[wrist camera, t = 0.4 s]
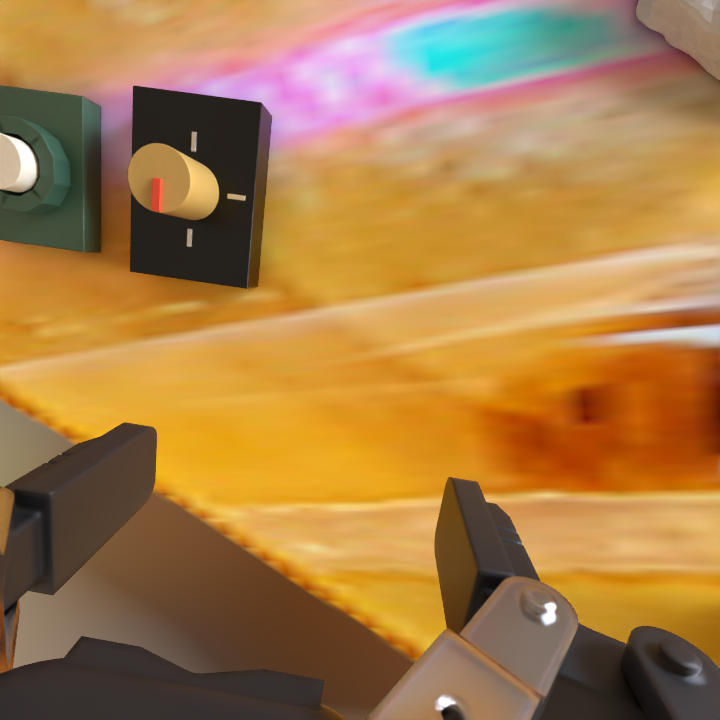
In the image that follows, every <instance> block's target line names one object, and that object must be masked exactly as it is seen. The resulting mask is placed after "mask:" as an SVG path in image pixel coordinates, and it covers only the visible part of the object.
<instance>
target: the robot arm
mask: <svg viewBox="0 0 720 720" xmlns="http://www.w3.org/2000/svg"><path fill="white" fill-rule="evenodd" d="M156 448H157V433H156V430H155V428H153V427H150V426H144V425H138V424H132V423H122V424H121V425H119V426H117V427H116V428H114V429H112V430H111V431H109V432H107V433H106V434H104V435H102V436H101V437H97V438H94V439H91V440H88V441H85V442H82V443H79V444H77V445H75V446H73V447H72V448H70V449H68V450H67V451H65V452H63V453H62V455H58V456H56V457H55V458H53V459H51V460H50V461H49V462H48V463H44V464H43V465H41V466H39V467H38V468H36V469H34V470H32V471H31V472H29V473H27V474H26V475H24V476H22V477H20V478H19V479H17V480H15V481H14V482H12V483H10V484H9V485H7V486H5V487H0V720H347V719H346V718H344V717H343V716H341V715H340V714H338V713H337V712H336V711H334V710H333V709H331V708H329V707H327V706H325V705H323V704H321V697H322V691H323V684H324V680H320V679H314V678H309V677H304V676H298V675H292V674H287V673H282V672H276V671H270V670H265V669H263V670H262V669H261V670H246V671H233V672H232V671H231V672H218V673H202V674H201V673H198V674H197V673H192V672H190V671H187V670H185V669H183V668H181V667H179V666H177V665H175V664H173V663H172V662H169V661H167V660H166V659H163V658H161V657H160V656H157V655H156V654H154V653H152V652H150V651H148V650H145V649H144V648H142V647H139V646H133V645H127V644H122V643H116V642H111V641H106V640H100V639H95V638H89V637H83V636H81V638H80V639H79V640H78V641H77V643H76V644H75V645H74V646H73V647H72V649H71V650H70V651H69V652H68V654H67V655H66V656H65V657H64V658H60V659H52V660H46V661H40V662H36V663H32V664H28V665H24V666H20V667H18V668H15V669H13V662H14V654H15V646H16V637H17V629H18V621H19V612H20V610H19V598H20V597H21V596H22V595H24V594H25V593H26V592H27V591H32V592H37V593H43V594H49V595H54V594H55V593H56V592H57V591H58V590H59V589H60V588H61V587H62V586H63V585H64V584H65V583H66V582H67V581H68V580H69V579H70V578H71V577H72V576H73V575H74V574H75V573H76V572H77V571H78V570H79V569H80V568H81V567H82V566H83V565H84V564H85V563H86V562H87V561H88V560H89V559H90V558H91V557H92V556H93V555H94V554H95V553H96V552H97V551H98V550H99V549H100V548H101V547H102V546H103V545H104V544H105V543H106V542H107V541H108V540H109V539H110V538H111V537H112V536H113V535H114V534H115V533H116V532H117V531H118V530H119V529H120V528H121V527H122V526H123V525H124V524H125V523H126V522H127V521H128V520H129V519H130V518H131V517H132V516H133V515H134V514H135V513H136V512H137V511H138V510H139V509H140V508H141V507H142V506H143V505H144V504H145V503H146V502H147V501H148V499H149V497H150V496H151V493H152V491H153V488H154V484H155V473H156ZM435 558H436V564H437V570H438V576H439V582H440V588H441V594H442V601H443V607H444V613H445V619H446V625H447V629H446V630H444V631H443V632H442V633H441V634H440V635H439V637H438V638H437V639H436V640H435V641H434V642H433V643H432V644H431V646H430V647H429V648H428V649H427V650H426V651H425V652H424V654H423V655H422V656H421V657H420V658H419V659H418V660H417V662H416V663H415V664H414V665H413V666H412V667H411V668H410V670H409V671H408V672H407V673H406V674H405V675H404V676H403V678H402V679H401V680H400V681H399V682H398V683H397V684H396V685H395V687H394V688H393V689H392V690H391V691H390V692H389V694H388V695H387V696H386V697H385V698H384V699H383V700H382V701H381V703H380V704H379V705H378V706H377V707H376V708H375V710H374V711H373V712H372V713H371V714H370V715H369V716H368V717H367V719H366V720H720V669H719V667H718V666H717V665H716V664H715V663H714V662H713V661H712V660H711V659H710V658H709V657H708V656H707V655H705V654H704V653H703V652H702V651H701V650H699V649H698V648H697V647H695V646H694V645H692V644H691V643H689V642H688V641H686V640H684V639H683V638H681V637H679V636H677V635H675V634H673V633H671V632H668V631H666V630H663V629H660V628H656V627H651V626H640V627H637V628H635V629H633V630H632V631H631V634H630V636H629V639H628V642H627V644H625V643H623V642H621V641H618V640H616V639H613V638H611V637H608V636H606V635H604V634H601V633H599V632H596V631H594V630H592V629H589V628H587V627H585V626H583V625H581V624H580V623H578V617H577V614H576V612H575V610H574V608H573V607H572V605H571V604H570V603H569V602H568V601H567V599H566V598H565V597H563V596H562V595H561V594H560V593H559V592H557V591H556V590H555V589H553V588H552V587H550V586H548V585H546V584H544V583H542V582H541V581H540V579H539V577H538V575H537V573H536V571H535V569H534V567H533V565H532V563H531V560H530V558H529V556H528V554H527V552H526V550H525V548H524V546H523V545H522V542H521V540H520V538H519V535H518V534H517V533H516V529H515V527H514V525H513V523H512V521H511V519H510V517H509V516H508V515H507V514H506V513H505V512H504V511H503V510H502V509H501V508H500V507H499V506H498V505H497V504H493V503H487V502H486V501H485V498H484V496H483V494H482V491H481V489H480V486H479V484H478V482H476V481H470V480H464V479H458V478H452V477H449V478H448V480H447V482H446V486H445V490H444V495H443V499H442V504H441V508H440V513H439V518H438V522H437V527H436V533H435Z"/></svg>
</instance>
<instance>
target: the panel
mask: <svg viewBox="0 0 720 720" xmlns="http://www.w3.org/2000/svg"><path fill="white" fill-rule="evenodd" d="M271 122H272V116H271V114H270V113H269V112H268V110H267V109H266V108H265V107H264V105H263V104H262V103H261V102H253V101H246V100H238V99H231V98H223V97H216V96H208V95H201V94H193V93H186V92H178V91H170V90H163V89H155V88H148V87H140V86H133V124H132V157H133V155H134V154H135V153H136V152H137V151H138V150H139V149H140V148H142V147H143V146H146V145H148V144H153V143H160V144H165V145H168V146H170V147H172V148H174V149H175V150H177V151H179V152H181V153H183V154H185V155H186V156H188V157H190V158H192V159H194V160H195V161H197V162H199V163H201V164H203V165H204V166H206V167H207V168H208V169H209V170H210V171H211V172H212V173H213V175H214V176H215V178H216V180H217V183H218V187H219V199H218V203H217V205H216V207H215V209H214V210H213V212H212V213H211V214H209V215H208V216H207V217H205V218H203V219H199V220H188V219H184V218H180V217H175V216H171V215H167V214H163V213H158V212H154V211H151V210H149V209H147V208H145V207H144V206H143V205H141V204H140V203H139V202H138V201H137V200H136V198H135V197H134V195H133V193H132V192H131V247H130V271H131V272H137V273H143V274H150V275H157V276H164V277H171V278H178V279H184V280H191V281H198V282H205V283H212V284H219V285H226V286H232V287H239V288H246V289H247V288H253V287H258V278H259V266H260V254H261V242H262V230H263V218H264V206H265V194H266V182H267V170H268V158H269V146H270V134H271Z"/></svg>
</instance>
